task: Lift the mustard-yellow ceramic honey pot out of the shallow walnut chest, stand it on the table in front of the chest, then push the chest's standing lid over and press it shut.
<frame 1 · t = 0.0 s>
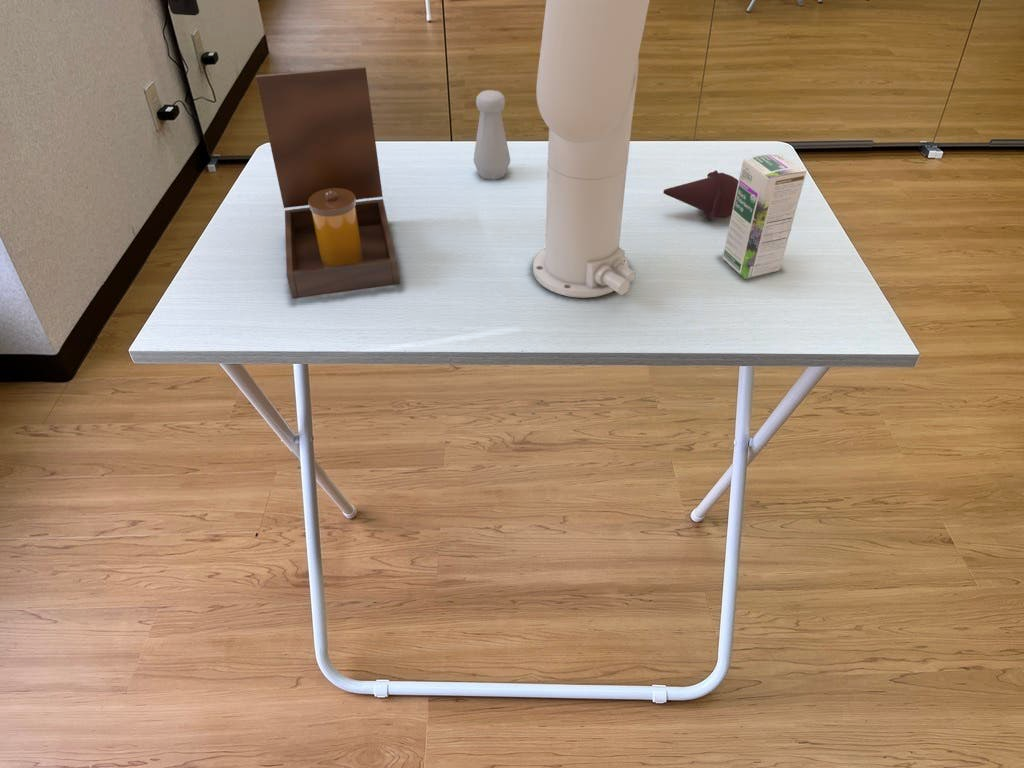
hand: (207, 1, 89), 31 cm above the table, tool pointing down, fingers open, 9 cm apart
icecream: (711, 217, 114), on the table
honey pot: (342, 258, 104), point 1 cm above the table, touching chest
salt shaker: (492, 175, 125), on the table
chest lid: (323, 139, 103), point 13 cm above the table, hinge at 95.0°
chest: (342, 261, 105), on the table
syrup box: (750, 266, 104), on the table
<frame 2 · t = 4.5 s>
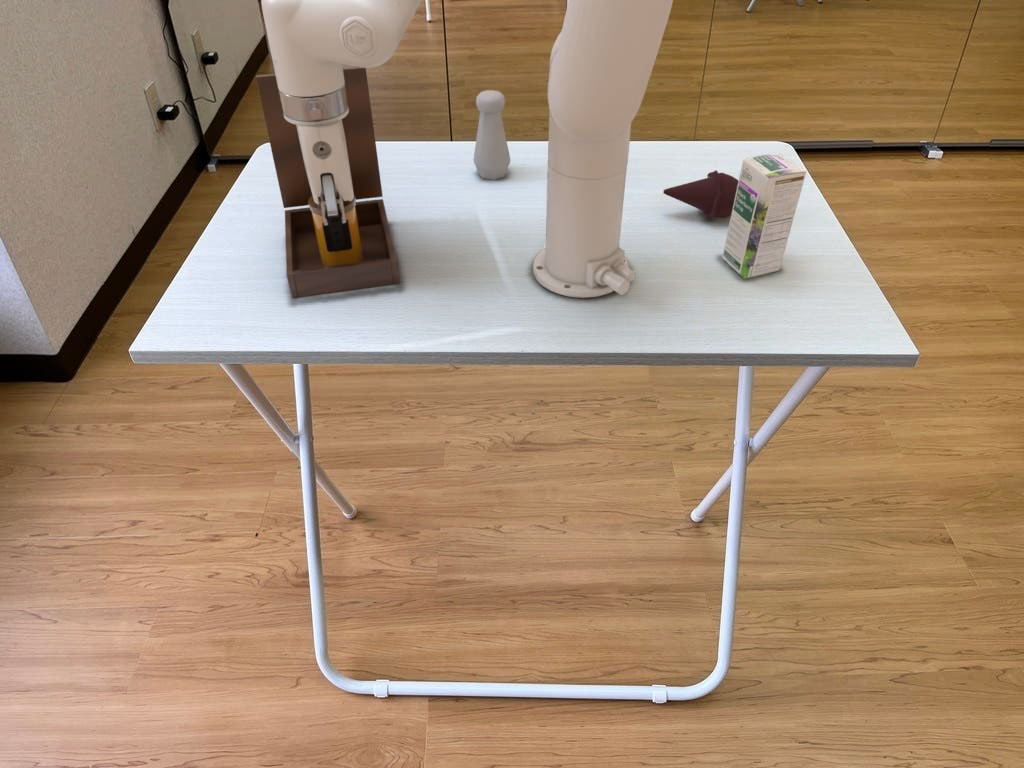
hand: (338, 235, 102), 4 cm above the table, tool pointing down, fingers closed on honey pot, 5 cm apart
honey pot: (342, 258, 104), point 1 cm above the table, touching chest, gripper
everything else where it was.
when the fingers open (4 cm above the table, at t = 11.6 s): honey pot stays where it is, on the table.
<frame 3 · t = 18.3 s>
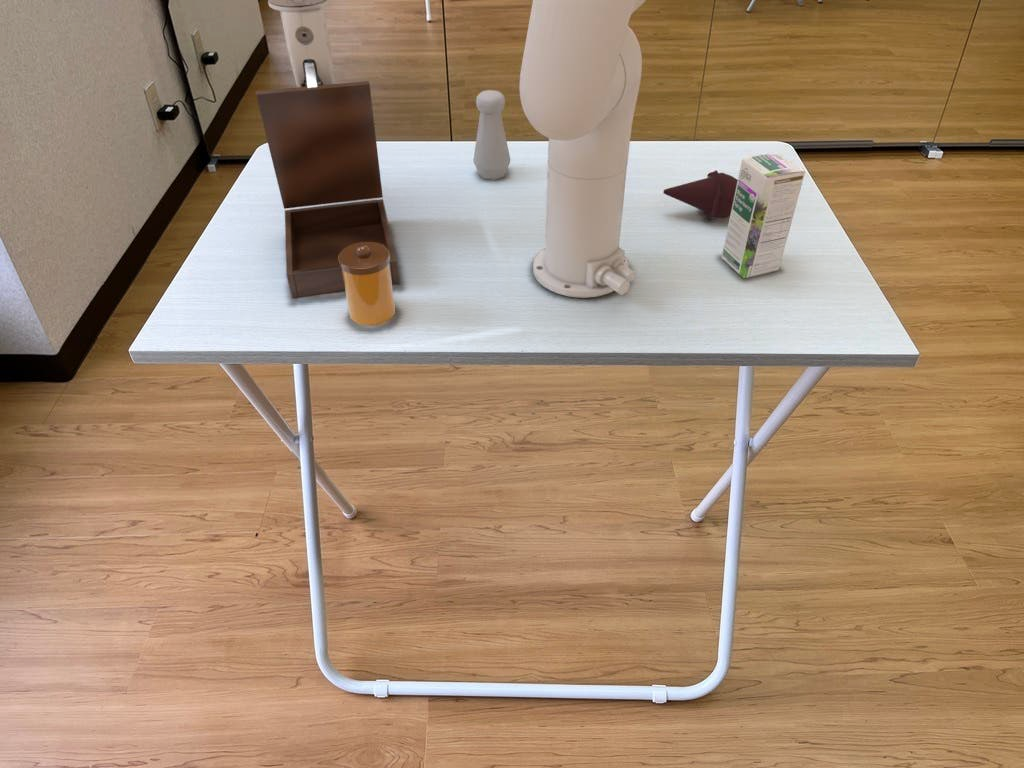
hand: (321, 125, 106), 14 cm above the table, tool pointing down, fingers open, 9 cm apart
honey pot: (373, 316, 96), on the table
chest lid: (324, 148, 101), point 13 cm above the table, hinge at 78.9°, touching gripper
everything else where it was.
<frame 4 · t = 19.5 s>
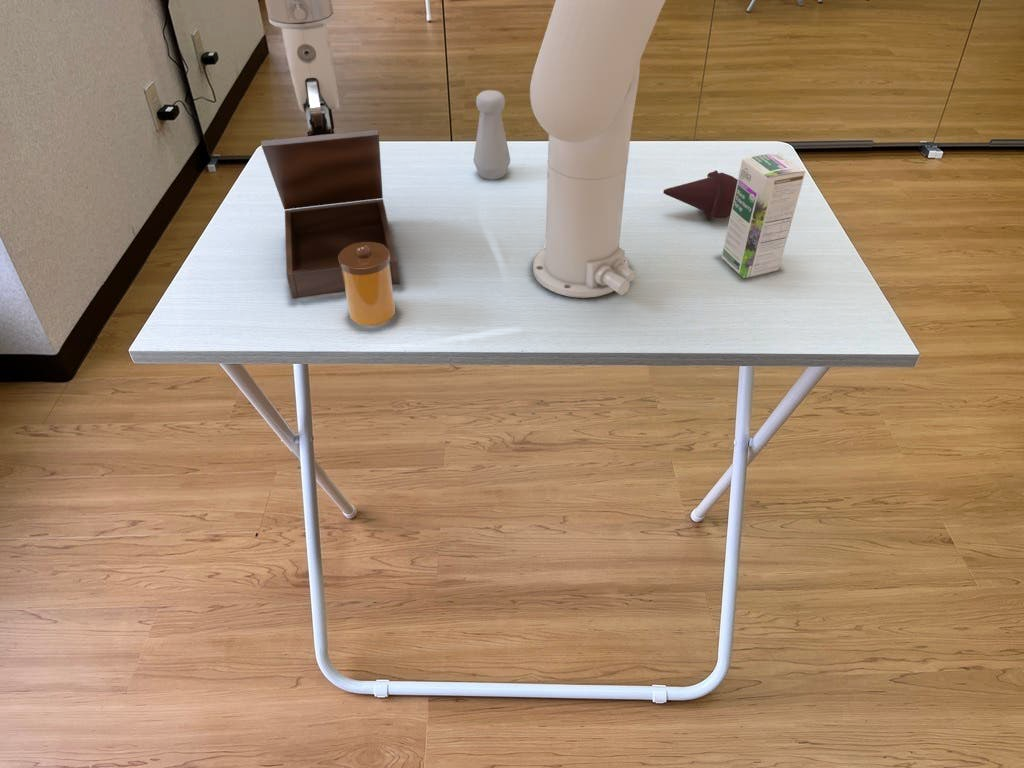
hand: (324, 145, 102), 13 cm above the table, tool pointing down, fingers open, 9 cm apart
chest lid: (327, 172, 100), point 12 cm above the table, hinge at 52.4°, touching gripper
everything else where it was.
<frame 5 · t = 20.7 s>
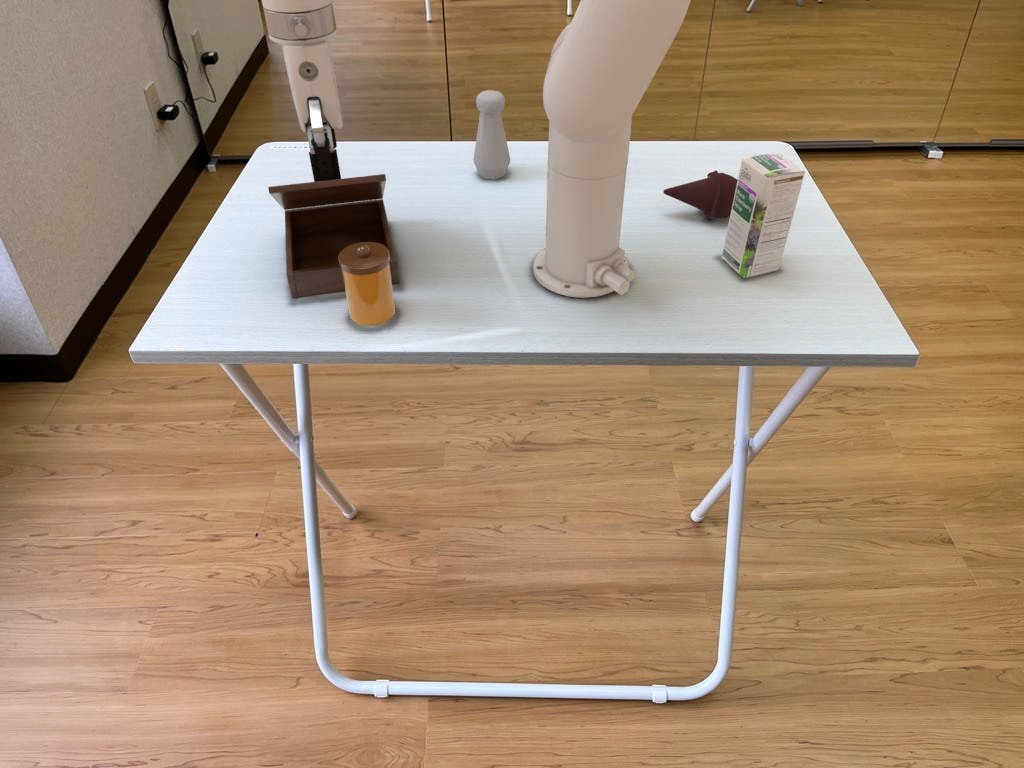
hand: (326, 164, 98), 13 cm above the table, tool pointing down, fingers open, 9 cm apart
chest lid: (331, 193, 100), point 10 cm above the table, hinge at 34.2°, touching gripper
everything else where it was.
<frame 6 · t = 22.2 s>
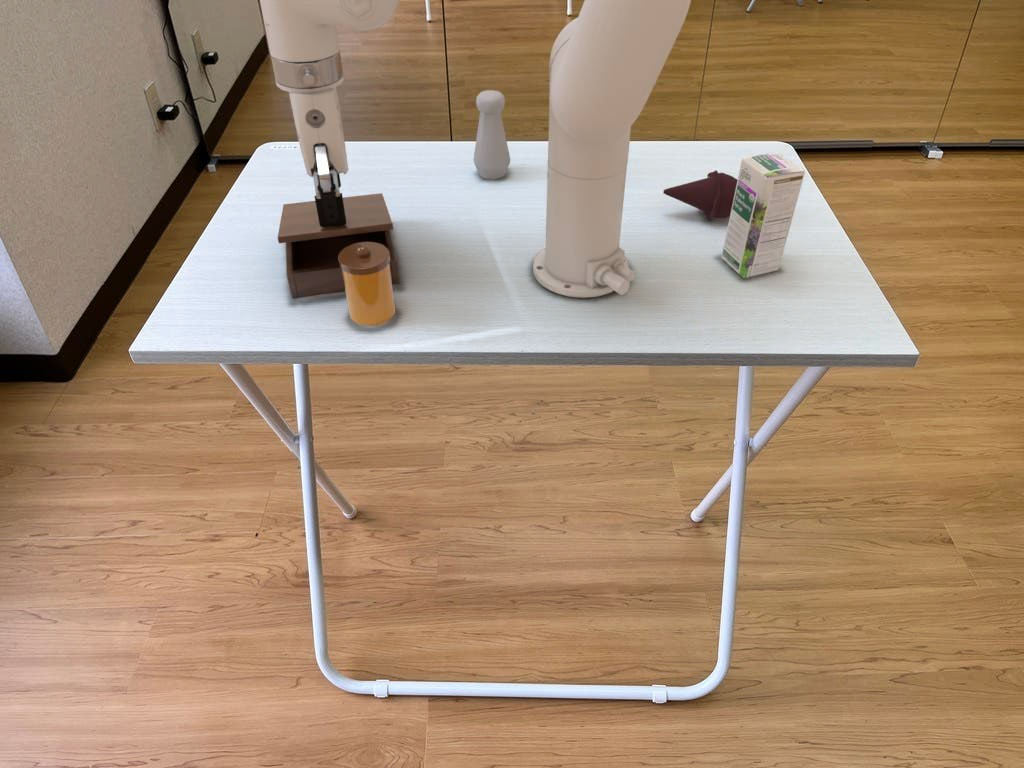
hand: (331, 205, 98), 9 cm above the table, tool pointing down, fingers open, 9 cm apart
chest lid: (334, 216, 101), point 7 cm above the table, hinge at 15.1°
everything else where it was.
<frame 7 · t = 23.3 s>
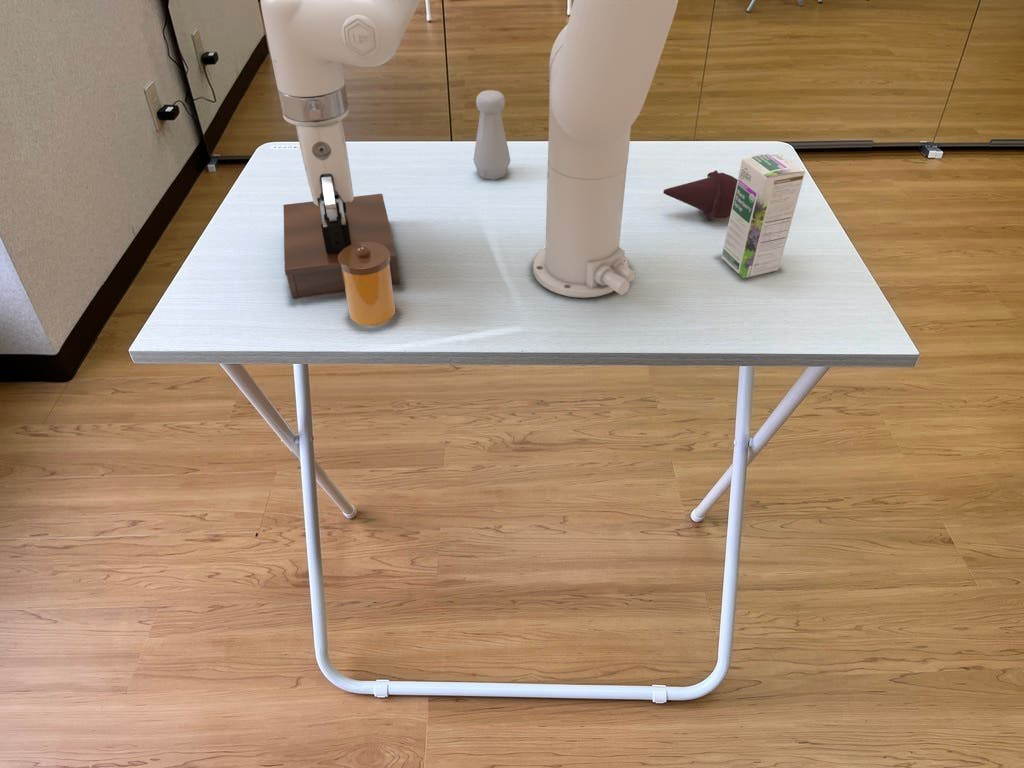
hand: (336, 231, 101), 5 cm above the table, tool pointing down, fingers open, 9 cm apart
chest lid: (337, 231, 102), point 5 cm above the table, hinge at 1.2°, touching gripper
everything else where it was.
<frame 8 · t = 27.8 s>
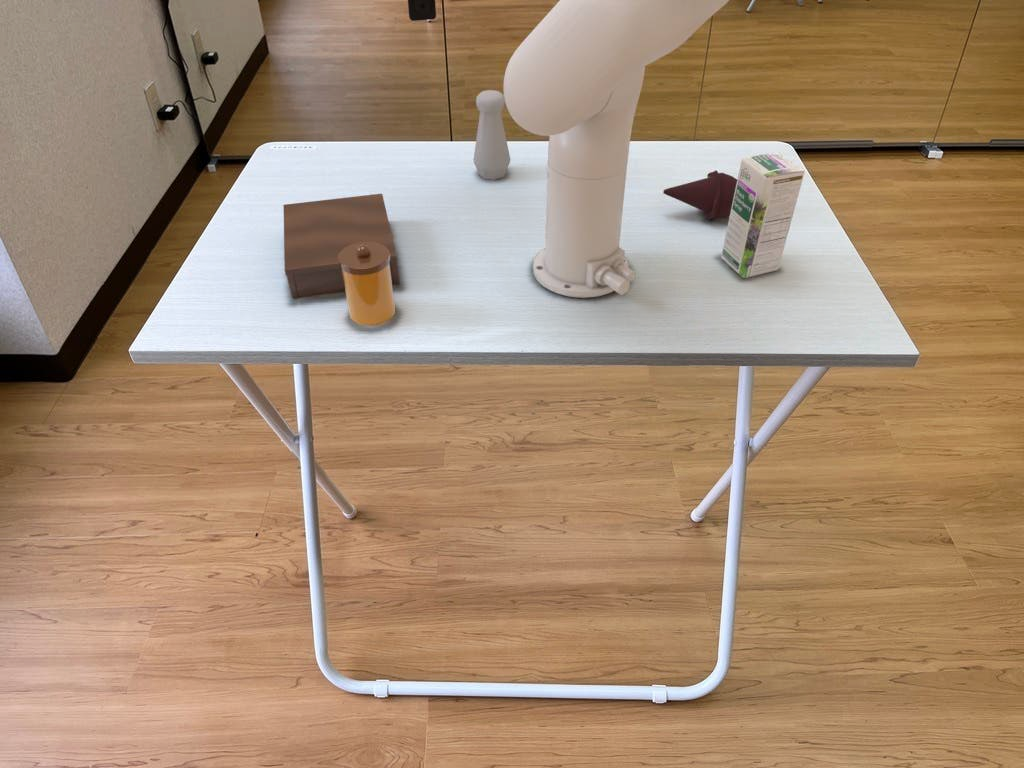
hand: (417, 7, 97), 28 cm above the table, tool pointing down, fingers open, 9 cm apart
chest lid: (337, 231, 102), point 5 cm above the table, hinge at 1.1°
everything else where it was.
at the end: honey pot inside the target area (0.2 cm from its centre), on the table; honey pot tilted 0°; chest lid at +1° (first picture: +95°) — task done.
